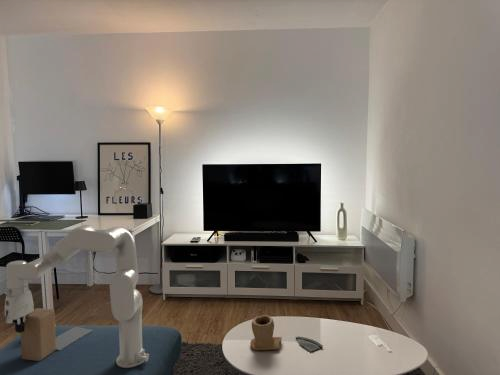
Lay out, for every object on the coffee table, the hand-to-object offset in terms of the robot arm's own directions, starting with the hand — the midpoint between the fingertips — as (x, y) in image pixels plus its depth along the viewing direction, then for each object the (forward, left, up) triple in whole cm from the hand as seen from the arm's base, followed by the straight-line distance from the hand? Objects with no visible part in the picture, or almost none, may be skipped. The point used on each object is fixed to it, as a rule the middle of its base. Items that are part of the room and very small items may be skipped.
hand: (20, 331), depth 146 cm
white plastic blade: (-147, -68, -16) cm, 163 cm away
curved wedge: (-116, -56, -16) cm, 130 cm away
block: (0, -8, -15) cm, 17 cm away
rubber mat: (0, -24, -15) cm, 28 cm away
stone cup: (-97, -47, -15) cm, 109 cm away
